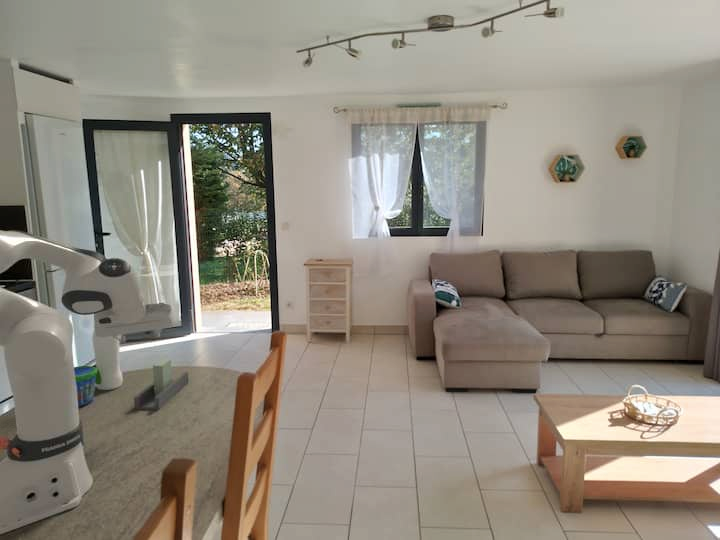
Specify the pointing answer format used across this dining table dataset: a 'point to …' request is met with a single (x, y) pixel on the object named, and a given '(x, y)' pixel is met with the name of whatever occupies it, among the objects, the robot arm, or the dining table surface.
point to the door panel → (162, 375)
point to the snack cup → (86, 383)
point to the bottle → (107, 361)
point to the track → (152, 402)
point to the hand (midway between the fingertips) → (140, 338)
